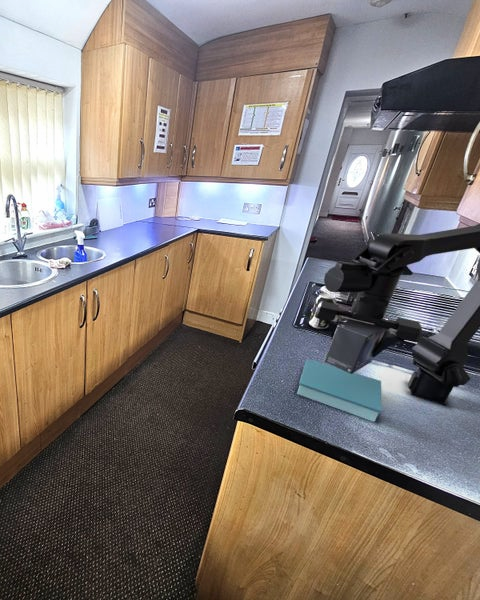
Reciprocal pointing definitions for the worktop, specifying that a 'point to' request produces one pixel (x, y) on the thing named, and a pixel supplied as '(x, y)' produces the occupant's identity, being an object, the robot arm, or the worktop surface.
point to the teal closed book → (341, 389)
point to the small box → (353, 345)
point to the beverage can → (313, 320)
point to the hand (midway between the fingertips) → (352, 350)
